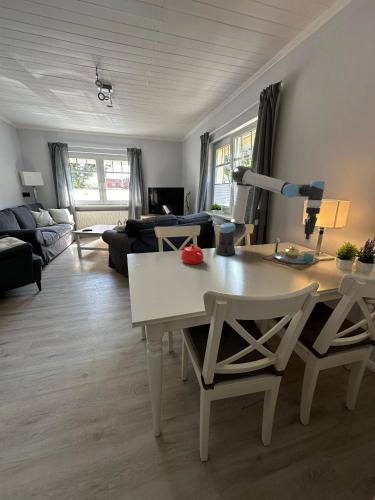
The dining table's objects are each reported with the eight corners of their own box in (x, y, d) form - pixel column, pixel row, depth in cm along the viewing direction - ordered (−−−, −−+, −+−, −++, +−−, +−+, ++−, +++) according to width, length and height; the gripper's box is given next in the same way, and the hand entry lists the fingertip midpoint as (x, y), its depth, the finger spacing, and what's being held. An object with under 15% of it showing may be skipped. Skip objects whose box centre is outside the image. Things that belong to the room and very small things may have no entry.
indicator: (273, 252, 168) (275, 238, 165) (275, 252, 169) (277, 238, 166) (276, 253, 166) (278, 239, 163) (277, 252, 167) (280, 238, 164)
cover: (281, 255, 154) (283, 246, 152) (288, 253, 160) (289, 244, 158) (294, 259, 148) (295, 249, 146) (300, 256, 153) (301, 247, 151)
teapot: (211, 265, 141) (212, 247, 138) (191, 269, 133) (191, 250, 130) (191, 254, 161) (191, 239, 158) (173, 257, 154) (173, 241, 150)
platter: (266, 257, 156) (267, 248, 154) (282, 251, 170) (283, 243, 168) (304, 268, 136) (306, 258, 134) (319, 260, 150) (321, 252, 148)
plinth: (261, 258, 156) (262, 257, 156) (281, 252, 173) (281, 251, 173) (300, 270, 135) (301, 268, 135) (318, 261, 152) (318, 260, 152)
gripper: (315, 208, 125) (308, 246, 131) (324, 207, 133) (317, 243, 139) (302, 207, 130) (296, 244, 137) (311, 206, 138) (305, 241, 145)
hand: (306, 243), depth 138 cm, fingers closed
